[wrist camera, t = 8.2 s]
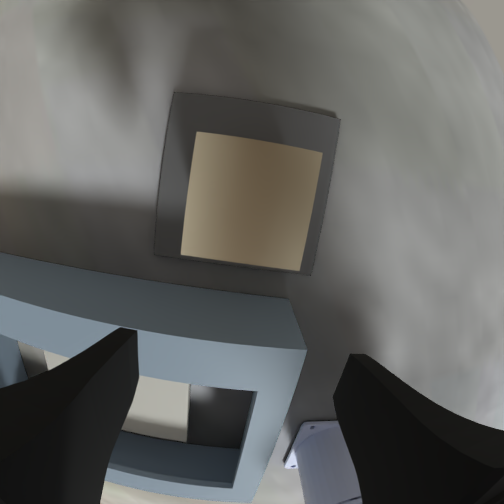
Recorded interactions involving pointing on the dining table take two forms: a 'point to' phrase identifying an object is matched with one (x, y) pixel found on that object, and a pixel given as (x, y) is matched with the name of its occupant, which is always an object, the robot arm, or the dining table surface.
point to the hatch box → (163, 366)
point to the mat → (246, 126)
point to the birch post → (249, 201)
